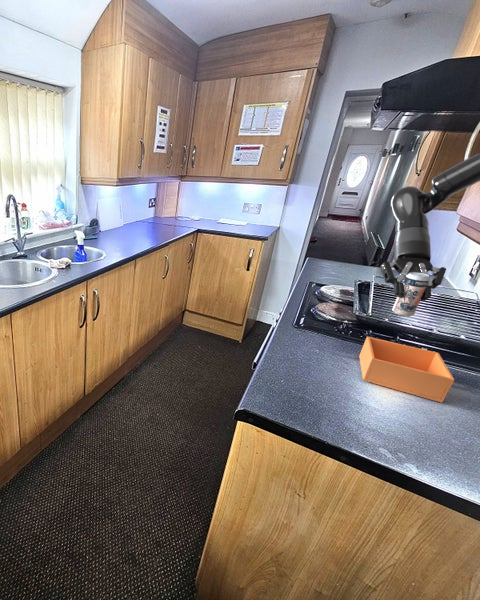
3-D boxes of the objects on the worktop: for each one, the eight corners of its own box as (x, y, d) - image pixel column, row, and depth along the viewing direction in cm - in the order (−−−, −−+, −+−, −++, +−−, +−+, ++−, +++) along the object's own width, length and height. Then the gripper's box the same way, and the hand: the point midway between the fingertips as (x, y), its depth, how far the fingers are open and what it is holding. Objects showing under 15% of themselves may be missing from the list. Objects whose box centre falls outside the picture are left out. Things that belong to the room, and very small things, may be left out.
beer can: (392, 314, 94) (408, 275, 89) (390, 308, 97) (405, 270, 92) (415, 318, 91) (433, 278, 86) (412, 312, 95) (429, 273, 90)
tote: (428, 373, 91) (438, 352, 89) (442, 402, 80) (454, 379, 77) (359, 355, 99) (367, 336, 97) (363, 380, 88) (372, 358, 85)
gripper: (387, 236, 96) (386, 287, 90) (453, 241, 90) (456, 296, 85) (375, 250, 102) (373, 299, 97) (436, 256, 96) (437, 308, 91)
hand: (412, 297), depth 91 cm, fingers closed on beer can, 4 cm apart
